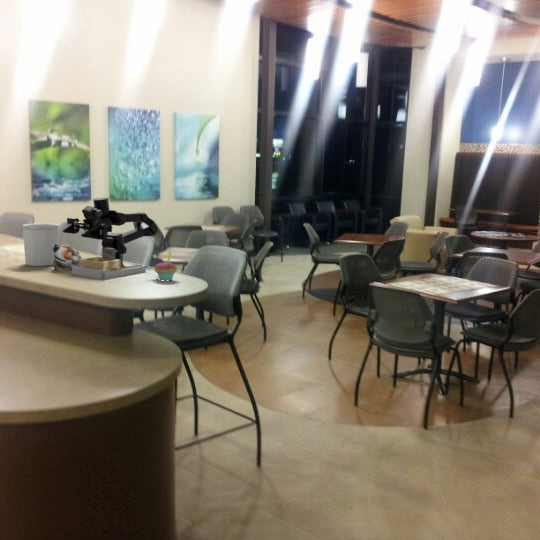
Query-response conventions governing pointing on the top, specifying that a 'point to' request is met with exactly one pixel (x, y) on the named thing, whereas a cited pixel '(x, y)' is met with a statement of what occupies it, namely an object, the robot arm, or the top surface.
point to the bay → (103, 274)
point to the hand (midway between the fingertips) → (72, 233)
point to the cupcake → (165, 270)
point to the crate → (102, 261)
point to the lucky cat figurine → (65, 257)
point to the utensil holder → (40, 243)
